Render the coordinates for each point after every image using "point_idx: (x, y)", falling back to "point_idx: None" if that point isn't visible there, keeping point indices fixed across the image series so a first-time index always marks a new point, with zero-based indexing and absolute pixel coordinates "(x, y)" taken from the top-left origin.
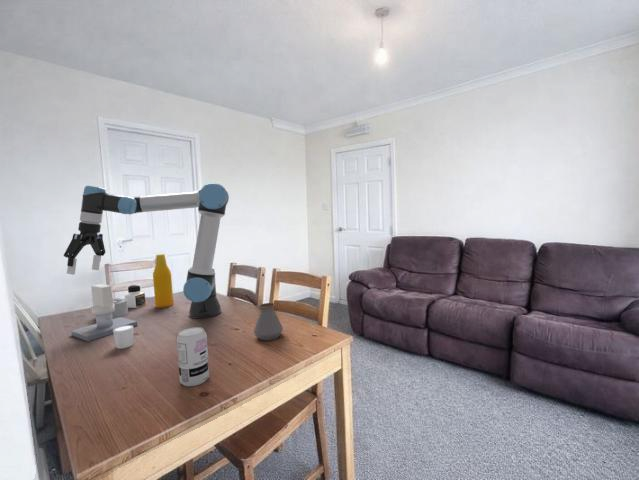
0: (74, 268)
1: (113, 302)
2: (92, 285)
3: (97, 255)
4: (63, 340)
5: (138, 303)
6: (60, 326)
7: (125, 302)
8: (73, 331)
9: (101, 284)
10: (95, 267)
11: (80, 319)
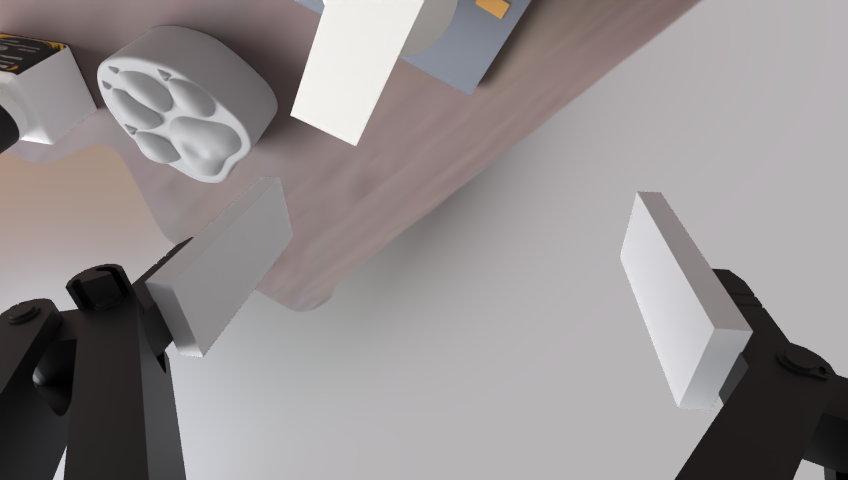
0: (679, 231)
1: (190, 91)
2: (350, 138)
3: (173, 320)
4: (531, 73)
5: (35, 49)
6: (368, 208)
7: (126, 52)
8: (481, 76)
9: (307, 84)
10: (272, 218)
11: (288, 194)
